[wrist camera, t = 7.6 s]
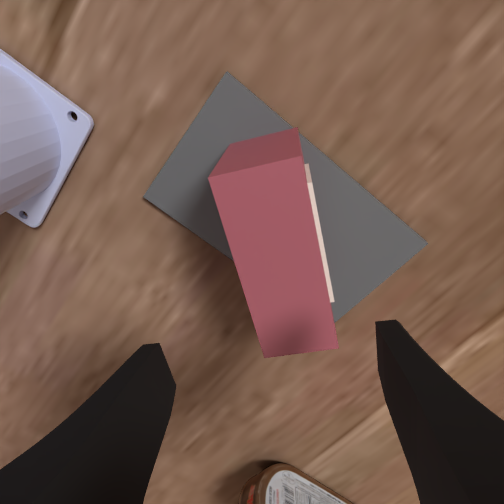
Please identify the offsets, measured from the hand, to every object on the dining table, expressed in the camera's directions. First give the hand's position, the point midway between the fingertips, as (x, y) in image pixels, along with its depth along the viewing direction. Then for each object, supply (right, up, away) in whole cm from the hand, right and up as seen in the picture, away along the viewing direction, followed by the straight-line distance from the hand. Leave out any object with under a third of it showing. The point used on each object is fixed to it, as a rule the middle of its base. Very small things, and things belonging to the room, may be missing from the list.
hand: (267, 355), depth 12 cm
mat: (+1, +5, +9) cm, 10 cm away
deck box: (+1, +5, +8) cm, 10 cm away
